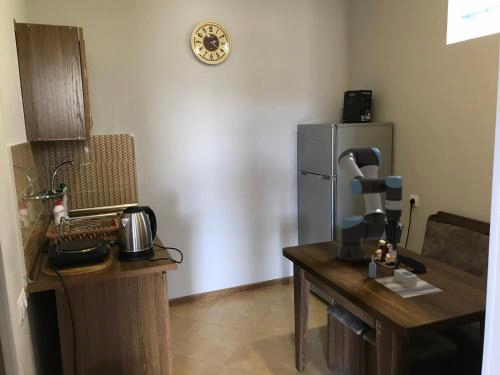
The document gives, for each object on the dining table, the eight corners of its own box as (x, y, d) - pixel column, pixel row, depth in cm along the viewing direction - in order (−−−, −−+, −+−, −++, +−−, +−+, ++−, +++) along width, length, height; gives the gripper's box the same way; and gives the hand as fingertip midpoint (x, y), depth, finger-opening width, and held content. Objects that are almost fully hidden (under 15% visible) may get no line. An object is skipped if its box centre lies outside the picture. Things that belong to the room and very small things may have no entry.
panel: (374, 280, 193) (374, 279, 193) (410, 274, 199) (410, 273, 198) (403, 299, 172) (403, 297, 172) (442, 292, 178) (443, 290, 178)
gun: (420, 284, 201) (431, 267, 199) (390, 268, 203) (400, 251, 200) (419, 282, 204) (429, 265, 201) (389, 266, 205) (399, 250, 203)
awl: (367, 277, 197) (367, 255, 196) (373, 276, 198) (373, 254, 196) (371, 279, 194) (371, 257, 193) (377, 278, 195) (377, 256, 193)
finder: (394, 278, 194) (394, 269, 193) (403, 276, 195) (403, 268, 194) (407, 285, 184) (407, 276, 184) (417, 284, 186) (417, 275, 185)
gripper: (378, 206, 199) (378, 253, 203) (395, 211, 187) (394, 261, 190) (391, 205, 201) (391, 251, 205) (409, 210, 189) (408, 259, 192)
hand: (392, 256), depth 197 cm, fingers closed
